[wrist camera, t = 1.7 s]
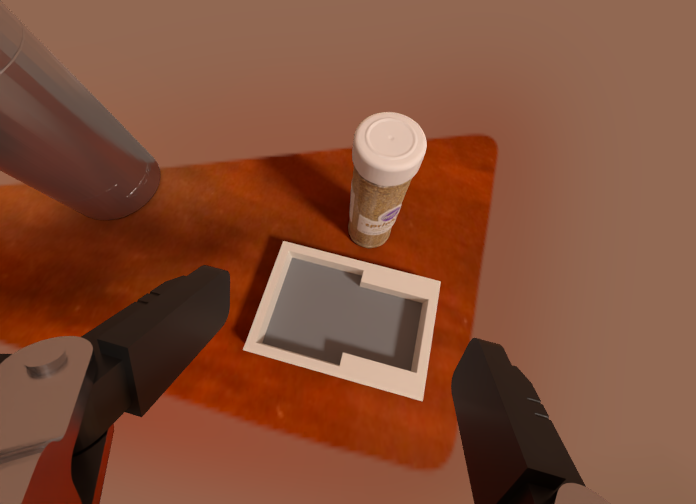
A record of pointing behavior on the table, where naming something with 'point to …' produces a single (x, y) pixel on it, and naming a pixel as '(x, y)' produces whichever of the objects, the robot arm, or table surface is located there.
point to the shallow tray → (347, 319)
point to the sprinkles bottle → (382, 174)
